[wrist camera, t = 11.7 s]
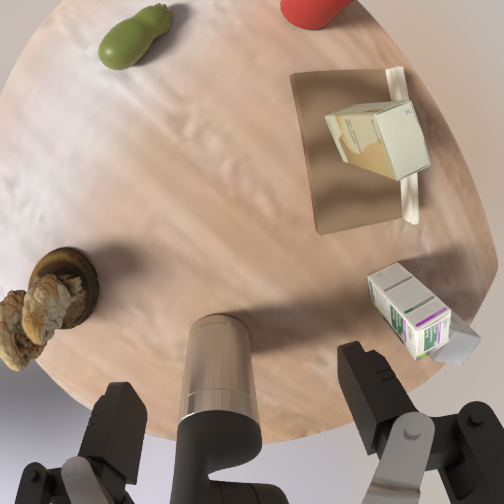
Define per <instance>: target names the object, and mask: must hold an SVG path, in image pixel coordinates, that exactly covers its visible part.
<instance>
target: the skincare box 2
mask: <svg viewBox="0 0 504 504" xmlns="http://www.w3.org/2000/svg"><path fill="white" fill-rule="evenodd" d="M480 340H481V338H480V337H479V336H478V335H477V333H476V332H475V331H474V330H472V329H471V328H470V327H469V326H468V325H467V324H466V323H465V322H464V321H463V320H462V319H461V318H460V317H459V316H458V315H457V314H456V313H455V312H454V311H453V310H451V324H450V331H449V342H448V343H446V344H445V345H443V346H442V347H441V348H439V349H438V350H436V351H435V352H433V353H431V354H429V356H430V357H431V359H432V360H433V361H437V362H444V363H453V364H460V365H463V364H464V363H465V362H466V360H467V359H468V358H469V356H470V355H471V353H472V352H473V350H474V349H475V348H476V346H477V345H478V343H479V341H480Z"/></svg>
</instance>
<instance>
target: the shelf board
mask: <svg viewBox="0 0 504 504" xmlns="http://www.w3.org/2000/svg"><path fill="white" fill-rule="evenodd" d="M290 81H291V85H292V90H293V95H294V100H295V105H296V110H297V115H298V120H299V125H300V130H301V136H302V141H303V147H304V153H305V159H306V165H307V171H308V178H309V184H310V191H311V198H312V205H313V212H314V220H315V228H316V231H317V232H318V233H319V234H320V235H324V234H329V233H334V232H338V231H343V230H347V229H352V228H357V227H361V226H366V225H371V224H375V223H380V222H385V221H390V220H394V219H399V218H403V219H405V220H406V221H408V222H410V223H411V224H413V225H415V224H418V180H417V173H415V174H413V175H410V176H408V177H406V178H403V179H401V180H399V181H396V180H393V179H391V178H388V177H386V176H383V175H380V174H378V173H375V172H372V171H369V170H367V169H364V168H361V167H358V166H355V165H352V164H349V163H346V162H344V161H343V159H342V157H341V155H340V152H339V150H338V148H337V146H336V143H335V141H334V139H333V136H332V134H331V132H330V129H329V127H328V124H327V122H326V119H325V116H326V115H328V114H330V113H332V112H334V111H337V110H339V109H342V108H345V107H348V106H351V105H355V104H365V103H377V102H391V101H409V97H408V91H407V86H406V80H405V75H404V71H403V67H394V68H391V69H387V70H334V71H317V72H304V73H294V74H292V75H291V76H290Z"/></svg>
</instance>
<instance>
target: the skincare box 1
mask: <svg viewBox="0 0 504 504" xmlns="http://www.w3.org/2000/svg"><path fill="white" fill-rule="evenodd" d="M325 119H326V122H327V124H328V127H329V129H330V132H331V134H332V136H333V139H334V141H335V143H336V146H337V148H338V150H339V152H340V155H341V157H342V159H343V161H344V162H346V163H349V164H352V165H355V166H358V167H361V168H364V169H367V170H369V171H372V172H375V173H378V174H380V175H383V176H386V177H388V178H391V179H393V180H396V181H399V180H401V179H403V178H406V177H408V176H410V175H413V174H415V173H417V172H419V171H421V170H423V169H425V168H427V167H429V166H430V165H431V162H430V159H429V155H428V151H427V147H426V144H425V140H424V136H423V132H422V130H421V127H420V124H419V121H418V118H417V116H416V113H415V110H414V107H413V104H412V102H411V101H391V102H377V103H365V104H355V105H351V106H348V107H345V108H342V109H339V110H337V111H334V112H332V113H330V114H328V115H326V116H325Z"/></svg>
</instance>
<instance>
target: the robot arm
mask: <svg viewBox="0 0 504 504" xmlns="http://www.w3.org/2000/svg"><path fill="white" fill-rule="evenodd" d="M337 360H338V379H339V384H340V387H341V389H342V392H343V394H344V397H345V399H346V402H347V404H348V406H349V409H350V411H351V414H352V416H353V419H354V421H355V424H356V426H357V429H358V431H359V434H360V436H361V439H362V441H363V443H364V446H365V449H366V451H367V454H368V455H371V454H374V453H377V455H378V458H379V460H380V462H379V464H378V467H377V469H376V471H375V474H374V476H373V479H372V481H371V483H370V485H369V488H368V490H367V492H366V494H365V497H364V498H363V501H362V503H361V504H418V502H419V498H420V485H421V481H422V478H423V475H424V472H425V471H429V470H434V469H438V472H439V474H440V477H441V479H442V482H443V484H444V487H445V489H446V492H447V495H448V497H449V500H450V502H451V504H504V428H503V427H502V425H501V423H500V422H499V420H498V418H497V417H496V415H495V414H494V412H493V410H492V409H491V408H490V406H488V405H487V404H486V403H483V402H479V401H474V402H470V403H468V404H466V405H465V406H464V407H463V408H462V409H461V410H460V412H459V413H458V414H453V415H447V416H442V417H429V416H427V415H425V414H423V413H420V412H419V411H418V410H417V409H416V408H415V406H414V405H413V403H412V401H411V400H410V398H409V396H408V395H407V393H406V391H405V390H404V388H403V386H402V385H401V383H400V381H399V380H398V378H396V375H395V373H394V371H393V370H392V369H391V367H390V365H389V363H388V362H387V360H386V359H385V357H384V356H382V355H381V354H379V353H378V352H376V351H375V350H371V351H368V352H365V351H364V349H363V348H362V346H361V344H360V343H359V341H354V342H350V343H347V344H343V345H340V346H338V348H337ZM146 423H147V410H146V407H145V405H144V403H143V402H142V400H141V399H140V397H139V396H138V395H137V393H136V392H135V390H134V389H133V387H132V386H131V384H130V383H129V382H115V383H110V384H109V385H108V387H107V390H106V393H105V395H102V396H101V397H100V398H99V400H98V401H97V402H96V403H95V405H94V407H93V410H92V413H91V417H90V419H89V422H88V424H89V425H87V428H86V431H85V434H84V437H83V440H82V444H81V447H80V450H79V453H78V456H75V457H72V458H70V459H68V460H67V461H66V462H65V463H64V465H63V466H62V467H61V468H54V469H46V468H45V467H44V466H43V465H41V464H40V463H38V462H33V463H30V464H28V465H27V466H26V467H25V469H24V471H23V474H22V477H21V480H20V484H19V488H18V492H17V496H16V500H15V504H50V503H51V504H135V503H134V502H133V500H132V499H131V497H130V496H129V494H128V492H127V491H126V490H125V485H126V484H133V485H136V483H137V476H138V470H139V463H140V457H141V451H142V445H143V439H144V434H145V428H146ZM261 448H262V436H261V429H260V422H259V414H258V407H257V399H256V391H255V383H254V374H253V366H252V357H251V348H250V339H249V334H248V331H247V329H246V327H245V326H244V325H243V324H242V323H241V322H240V321H238V320H237V319H235V318H233V317H230V316H226V315H210V316H207V317H204V318H202V319H200V320H199V321H197V322H196V323H195V324H194V325H193V327H192V328H191V330H190V334H189V341H188V347H187V354H186V361H185V368H184V376H183V384H182V392H181V401H180V411H179V420H178V430H177V443H176V455H175V467H174V477H173V485H172V492H171V498H170V504H289V503H288V500H287V498H286V495H285V494H284V493H283V491H282V490H281V489H280V488H279V487H277V486H275V485H271V484H259V483H239V482H225V481H213V480H210V479H209V477H208V474H210V473H213V472H215V471H218V470H222V469H226V468H231V467H235V466H239V465H242V464H245V463H247V462H248V461H251V460H252V459H254V458H255V457H256V456H257V455H258V454H259V453H260V451H261Z"/></svg>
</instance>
